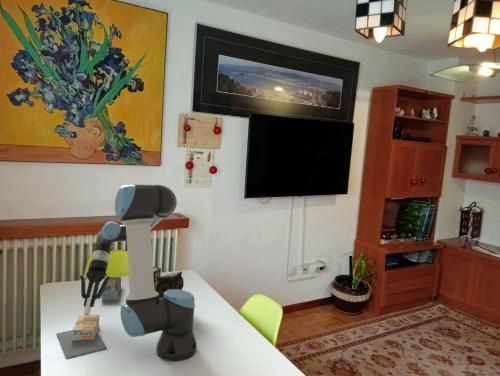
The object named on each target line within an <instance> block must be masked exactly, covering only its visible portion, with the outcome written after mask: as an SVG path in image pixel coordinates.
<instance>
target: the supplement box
mask: <svg viewBox="0 0 500 376" xmlns="http://www.w3.org/2000/svg"><path fill="white" fill-rule="evenodd" d="M99 327H100V314H89V316H85V314H79V315H78V317H77V319H76V321H75V323H74V326H73V328H72V329H71V330H72V341H81V340H94V339H95V336H96V333H97V332H98V329H99Z"/></svg>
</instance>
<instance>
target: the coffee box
mask: <svg viewBox="0 0 500 376" xmlns="http://www.w3.org/2000/svg"><path fill="white" fill-rule="evenodd" d="M161 273H162V267H156V266H153V277H154V290H155V291H156V284H157V277H158V276H159V277H160V276H162V274H161Z"/></svg>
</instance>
